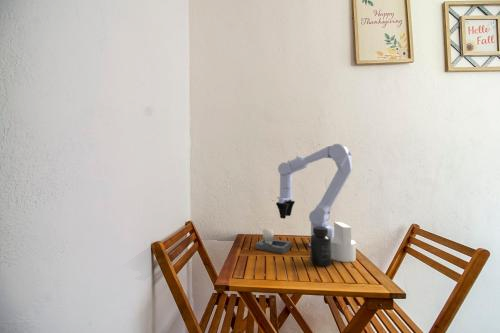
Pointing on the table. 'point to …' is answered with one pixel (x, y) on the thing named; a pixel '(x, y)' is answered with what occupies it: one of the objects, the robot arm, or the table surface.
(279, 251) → the keyhole plate
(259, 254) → the table surface
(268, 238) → the light bulb
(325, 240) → the supplement bottle
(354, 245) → the cylinder with rectangular tab
